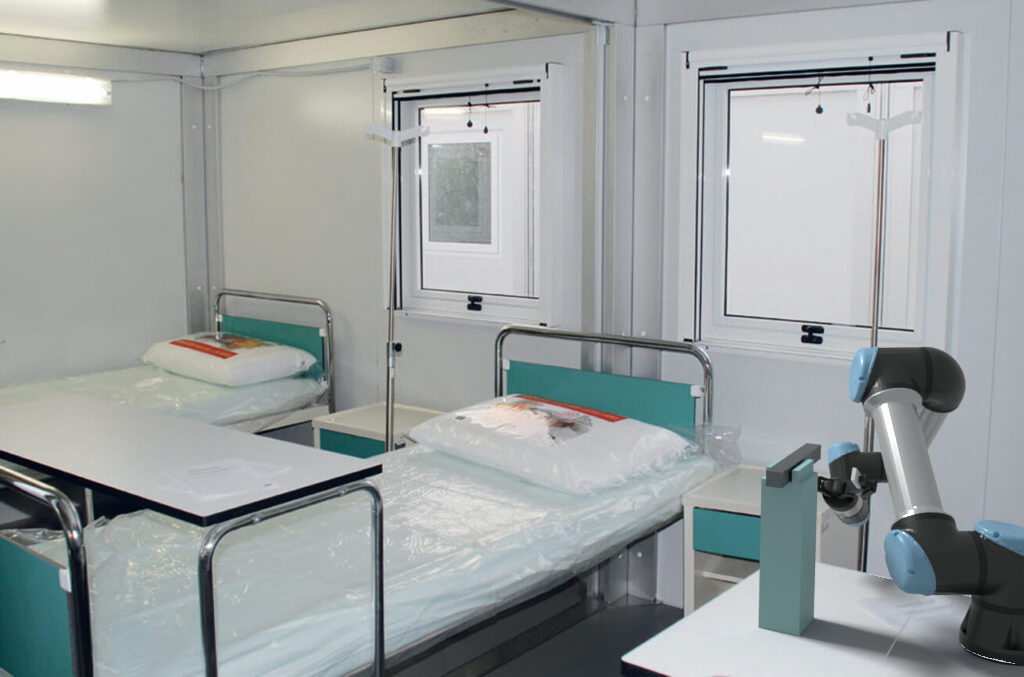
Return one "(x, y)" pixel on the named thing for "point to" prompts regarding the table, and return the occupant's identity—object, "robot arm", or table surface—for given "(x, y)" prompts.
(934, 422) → the robot arm
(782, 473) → the steel bar
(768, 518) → the notched post
